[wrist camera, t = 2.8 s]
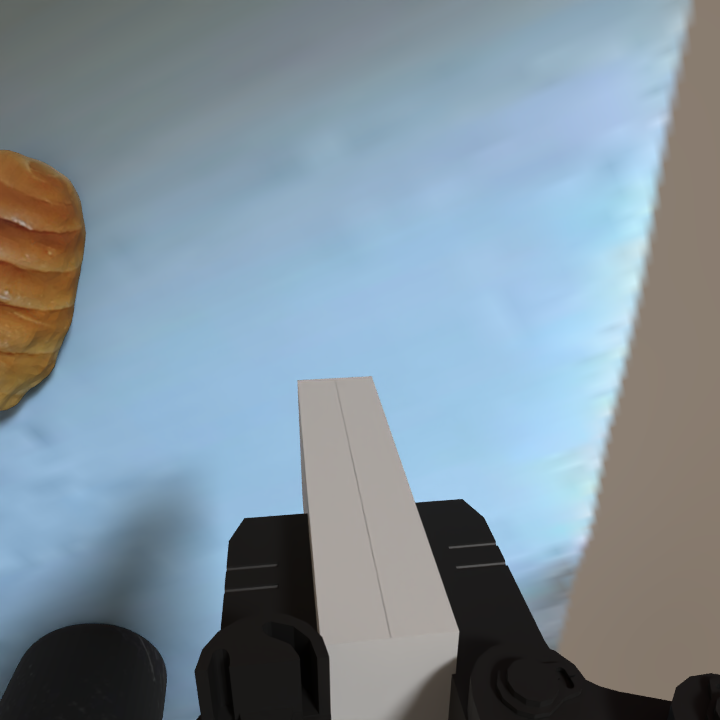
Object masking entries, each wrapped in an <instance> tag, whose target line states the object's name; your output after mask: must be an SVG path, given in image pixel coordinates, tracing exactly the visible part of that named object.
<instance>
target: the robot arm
mask: <svg viewBox="0 0 720 720" xmlns="http://www.w3.org/2000/svg"><path fill="white" fill-rule="evenodd" d="M298 403H299V427H300V450H301V473H302V495H303V508H304V514H293V515H280V516H268V517H255V518H244V520H243V521H242V523H241V524H240V526H239V527H238V528H237V530H236V531H235V533H234V534H233V536H232V537H231V539H230V540H229V546H228V557H227V572H226V578H225V594H224V600H223V611H222V622H221V630H220V631H218V632H217V634H216V635H215V636H214V637H213V638H212V639H211V640H210V641H209V643H208V644H207V645H206V646H205V647H204V648H203V649H202V652H201V655H200V658H199V660H198V663H197V666H196V669H195V678H196V685H197V691H198V698H199V705H200V712H201V715H200V716H199V717H198V718H197V719H196V720H720V675H718V674H712V673H710V674H703V675H697V676H691V677H689V678H688V679H686V680H685V681H684V682H682V683H681V684H680V685H679V686H677V687H676V690H675V693H674V697H673V700H672V701H667V700H662V699H656V698H651V697H645V696H640V695H634V694H629V693H624V692H618V691H614V690H611V689H607V688H604V687H600V686H598V685H596V684H594V683H592V682H589V681H587V680H585V678H584V677H583V675H582V674H581V673H580V671H579V670H578V669H577V668H576V666H575V665H574V664H573V663H571V662H570V661H568V660H567V659H566V658H564V657H563V656H561V655H560V654H559V653H557V652H556V651H554V650H551V649H549V647H548V645H547V644H546V642H545V641H544V639H543V637H542V635H541V633H540V631H539V629H538V627H537V624H536V622H535V620H534V618H533V616H532V614H531V612H530V610H529V608H528V606H527V604H526V602H525V600H524V598H523V596H522V594H521V592H520V590H519V588H518V586H517V584H516V582H515V580H514V578H513V576H512V574H511V572H510V570H509V567H508V565H507V566H506V565H505V559H504V557H503V555H502V553H501V551H500V549H499V547H498V546H496V541H495V539H494V537H493V535H492V533H491V531H490V529H489V527H488V525H487V523H486V521H485V519H484V517H483V516H481V515H480V514H479V513H478V512H477V511H476V510H474V509H473V508H472V507H471V506H470V505H469V504H467V503H466V502H465V501H464V500H463V499H457V500H444V501H431V502H419V503H415V501H414V498H413V495H412V492H411V489H410V487H409V484H408V481H407V478H406V475H405V472H404V469H403V466H402V463H401V460H400V457H399V455H398V452H397V449H396V446H395V443H394V440H393V437H392V434H391V431H390V428H389V425H388V423H387V420H386V417H385V414H384V411H383V408H382V405H381V402H380V399H379V396H378V393H377V390H376V388H375V385H374V382H373V379H372V376H369V377H351V378H332V379H314V380H298Z"/></svg>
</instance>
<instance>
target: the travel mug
mask: <svg viewBox="0 0 720 720" xmlns="http://www.w3.org/2000/svg"><path fill="white" fill-rule="evenodd" d="M166 683H167V673H166V668H165V664H164V661H163V659H162V657H161V655H160V653H159V652H158V651H157V649H156V648H155V647H154V646H153V645H152V644H151V643H150V642H149V641H147V640H146V639H144V638H143V637H142V636H140V635H138V634H136V633H134V632H132V631H129V630H127V629H124V628H121V627H117V626H113V625H107V624H79V625H72V626H68V627H64V628H61V629H58V630H55V631H53V632H51V633H49V634H47V635H45V636H44V637H42V638H40V639H39V640H38V641H37V642H35V643H34V644H33V645H32V646H31V647H30V648H29V649H28V650H27V652H26V653H25V654H24V656H23V657H22V659H21V661H20V663H19V664H18V666H17V668H16V670H15V672H14V674H13V676H12V678H11V680H10V682H9V684H8V686H7V689H6V691H5V693H4V695H3V697H2V699H1V701H0V720H162V718H163V710H164V702H165V693H166Z"/></svg>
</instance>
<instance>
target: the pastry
mask: <svg viewBox="0 0 720 720" xmlns="http://www.w3.org/2000/svg"><path fill="white" fill-rule="evenodd" d="M85 236H86V232H85V224H84V219H83V213H82V206H81V201H80V199H79V196H78V194H77V192H76V190H75V188H74V186H73V185H72V183H71V181H70V180H69V179H68V178H67V177H65V176H64V175H63V174H61V173H60V172H58V171H57V170H55V169H54V168H53V167H51V166H49V165H47V164H46V163H44V162H41V161H39V160H36V159H32V158H29V157H26V156H24V155H21V154H19V153H16V152H13V151H9V150H0V411H2V410H8V409H9V408H11V407H13V406H15V405H17V404H18V402H19V401H20V400H21V399H22V397H23V396H24V395H25V394H26V393H27V391H28V390H29V389H31V388H32V387H34V386H36V385H37V384H39V383H40V382H41V381H42V380H43V379H45V378H46V377H47V376H48V375H49V374H50V372H51V371H52V369H53V368H54V366H55V362H56V359H57V355H58V352H59V349H60V347H61V345H62V343H63V340H64V337H65V335H66V333H67V332H68V330H69V327H70V324H71V321H72V317H73V312H74V303H75V297H76V292H77V285H78V280H79V276H80V268H81V264H82V260H83V253H84V245H85Z"/></svg>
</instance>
